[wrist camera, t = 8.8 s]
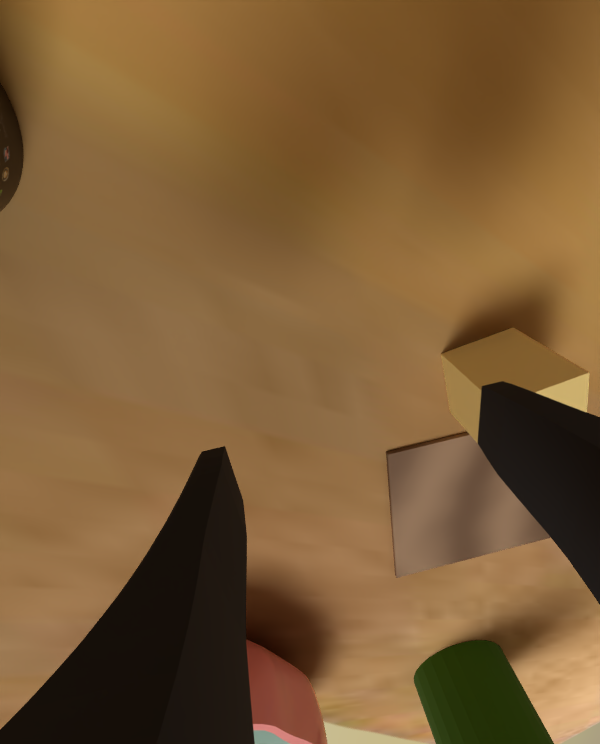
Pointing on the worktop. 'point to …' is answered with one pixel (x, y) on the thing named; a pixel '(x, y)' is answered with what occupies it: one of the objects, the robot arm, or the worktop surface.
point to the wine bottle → (476, 698)
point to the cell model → (282, 701)
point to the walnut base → (451, 506)
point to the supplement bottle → (9, 150)
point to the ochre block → (509, 374)
